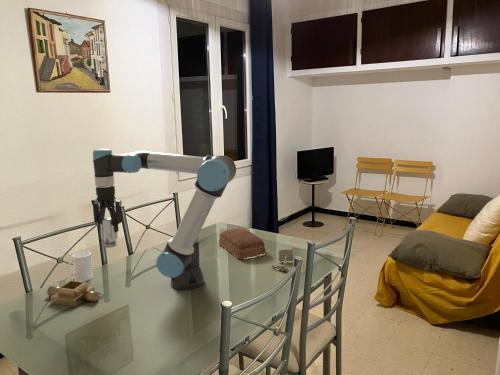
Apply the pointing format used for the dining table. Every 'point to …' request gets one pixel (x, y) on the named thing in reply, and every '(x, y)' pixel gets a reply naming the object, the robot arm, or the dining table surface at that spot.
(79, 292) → the valve body
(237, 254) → the bread
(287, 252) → the decorative sculpture
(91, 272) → the mug
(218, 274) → the dining table surface
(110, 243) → the pipe stub
